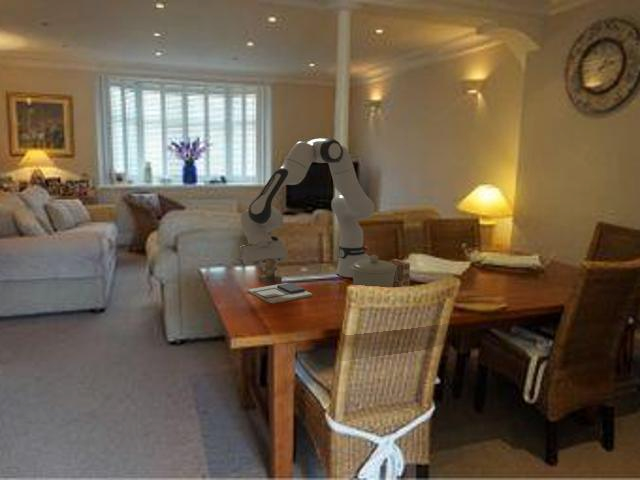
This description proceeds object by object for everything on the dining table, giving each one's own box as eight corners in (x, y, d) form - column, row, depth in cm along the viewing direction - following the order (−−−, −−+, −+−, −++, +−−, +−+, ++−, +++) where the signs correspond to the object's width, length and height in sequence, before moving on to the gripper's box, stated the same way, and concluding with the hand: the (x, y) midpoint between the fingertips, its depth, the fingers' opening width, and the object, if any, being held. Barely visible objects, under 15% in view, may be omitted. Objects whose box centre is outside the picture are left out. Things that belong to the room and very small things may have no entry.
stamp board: (286, 285, 240) (286, 280, 239) (311, 295, 224) (312, 290, 223) (247, 291, 228) (247, 286, 228) (270, 303, 212) (270, 298, 212)
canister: (345, 311, 204) (346, 258, 200) (354, 298, 221) (356, 249, 218) (391, 316, 200) (394, 261, 196) (397, 302, 217) (400, 252, 213)
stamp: (273, 279, 227) (273, 257, 225) (281, 283, 222) (282, 260, 220) (258, 281, 223) (258, 258, 221) (267, 285, 218) (267, 262, 216)
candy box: (409, 298, 223) (410, 262, 220) (401, 299, 221) (403, 263, 218) (395, 292, 230) (396, 258, 227) (387, 294, 228) (389, 259, 225)
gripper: (240, 241, 219) (251, 269, 213) (282, 237, 230) (294, 263, 224) (235, 250, 223) (246, 277, 217) (277, 245, 235) (288, 271, 229)
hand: (271, 270), depth 221 cm, fingers closed on stamp, 4 cm apart
